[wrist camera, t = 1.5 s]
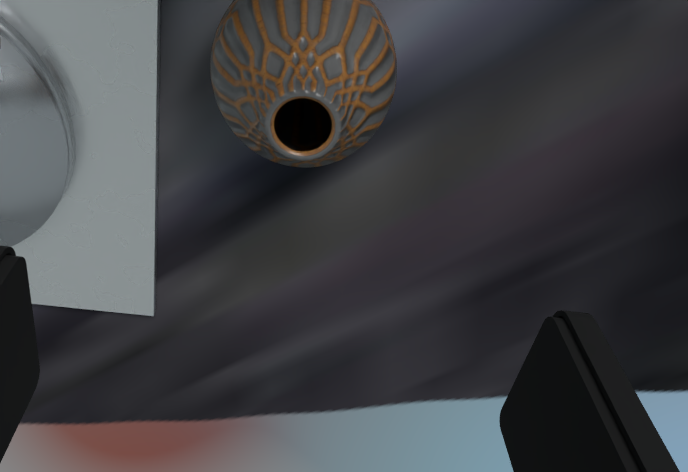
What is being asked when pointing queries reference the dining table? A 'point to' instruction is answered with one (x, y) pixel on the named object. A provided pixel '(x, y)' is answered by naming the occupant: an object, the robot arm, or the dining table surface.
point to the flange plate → (81, 149)
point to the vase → (303, 77)
